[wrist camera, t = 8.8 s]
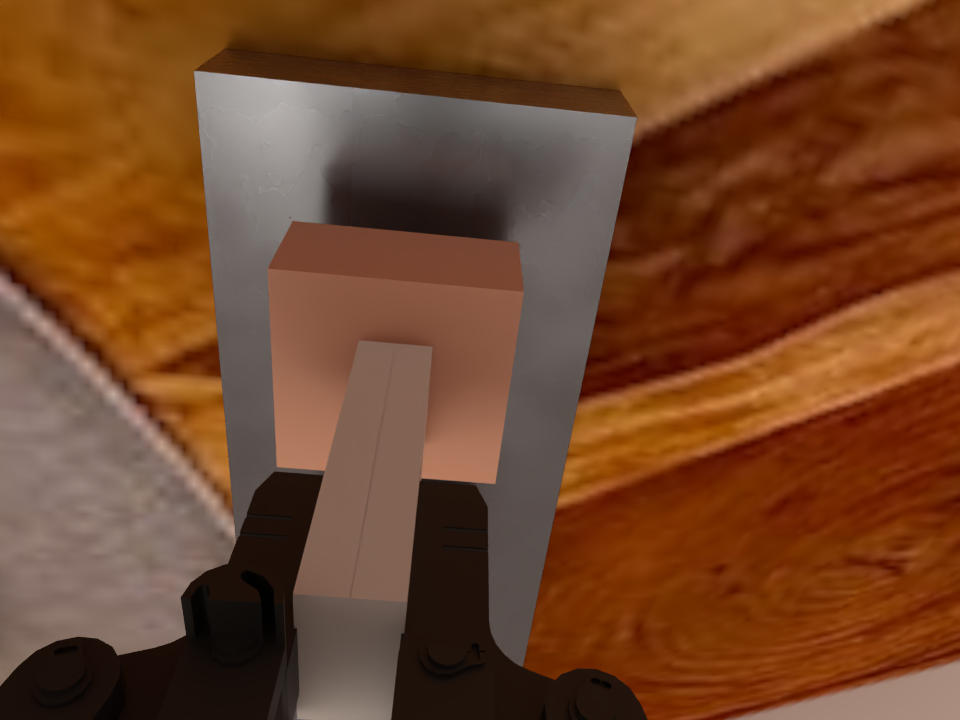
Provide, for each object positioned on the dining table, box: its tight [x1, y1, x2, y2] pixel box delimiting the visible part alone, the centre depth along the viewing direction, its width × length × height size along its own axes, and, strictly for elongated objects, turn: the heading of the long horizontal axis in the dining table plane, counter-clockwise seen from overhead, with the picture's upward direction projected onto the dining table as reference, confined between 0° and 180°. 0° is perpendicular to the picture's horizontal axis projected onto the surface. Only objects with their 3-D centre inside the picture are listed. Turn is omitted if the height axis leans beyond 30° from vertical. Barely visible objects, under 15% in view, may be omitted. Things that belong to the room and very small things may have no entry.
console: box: [194, 49, 637, 720], centre depth 26 cm, size 26×10×2 cm, turn 174°
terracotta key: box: [268, 221, 524, 484], centre depth 19 cm, size 5×5×5 cm
